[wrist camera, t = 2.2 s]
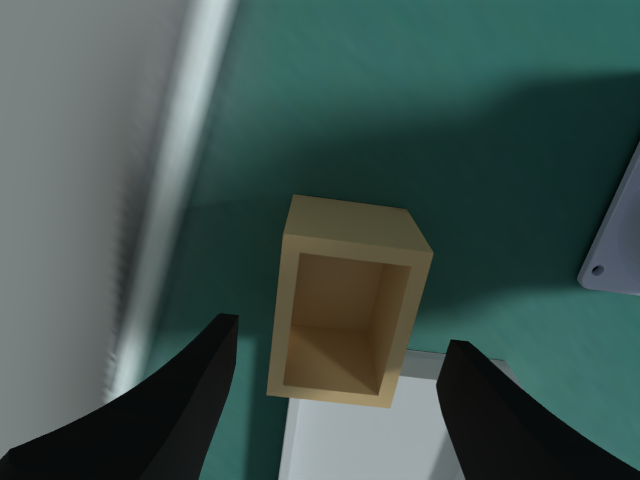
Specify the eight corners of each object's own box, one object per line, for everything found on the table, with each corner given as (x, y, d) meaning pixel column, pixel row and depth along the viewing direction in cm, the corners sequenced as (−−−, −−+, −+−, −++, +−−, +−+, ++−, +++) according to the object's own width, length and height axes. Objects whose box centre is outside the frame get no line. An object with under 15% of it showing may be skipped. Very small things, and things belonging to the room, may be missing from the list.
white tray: (297, 336, 19) (294, 364, 18) (505, 360, 20) (524, 389, 18) (275, 499, 25) (271, 533, 23) (441, 515, 25) (450, 550, 23)
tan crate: (293, 194, 16) (283, 233, 12) (406, 209, 17) (434, 253, 13) (278, 326, 19) (266, 395, 15) (376, 337, 19) (390, 408, 15)
